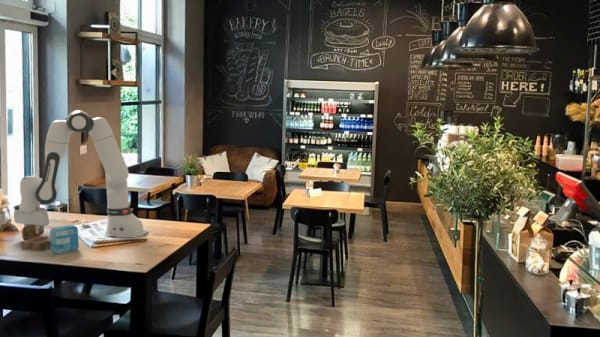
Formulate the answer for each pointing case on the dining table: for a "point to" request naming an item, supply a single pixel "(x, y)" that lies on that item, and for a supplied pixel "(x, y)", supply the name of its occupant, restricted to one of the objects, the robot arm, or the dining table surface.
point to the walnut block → (37, 242)
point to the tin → (31, 232)
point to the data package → (64, 239)
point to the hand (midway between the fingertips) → (32, 232)
